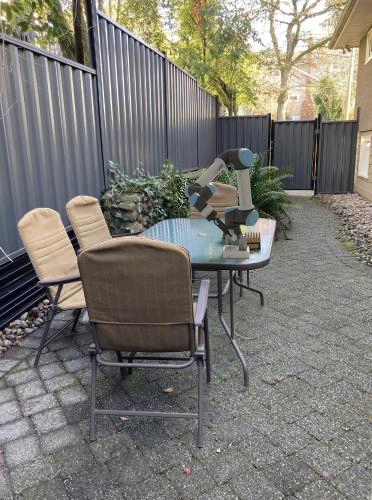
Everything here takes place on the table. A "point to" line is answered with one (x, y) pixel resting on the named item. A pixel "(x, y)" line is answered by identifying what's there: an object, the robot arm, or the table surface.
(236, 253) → the scale
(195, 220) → the table surface
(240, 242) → the cylinder
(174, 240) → the table surface
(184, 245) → the table surface
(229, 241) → the ball
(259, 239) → the ammunition clip
